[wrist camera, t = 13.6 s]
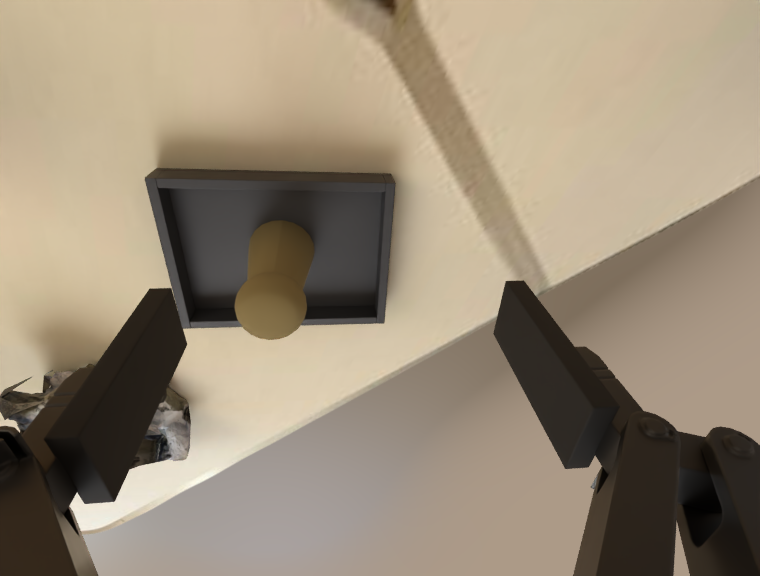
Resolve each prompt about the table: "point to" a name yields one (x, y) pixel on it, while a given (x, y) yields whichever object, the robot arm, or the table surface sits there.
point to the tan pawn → (275, 280)
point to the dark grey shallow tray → (259, 206)
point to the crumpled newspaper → (162, 436)
